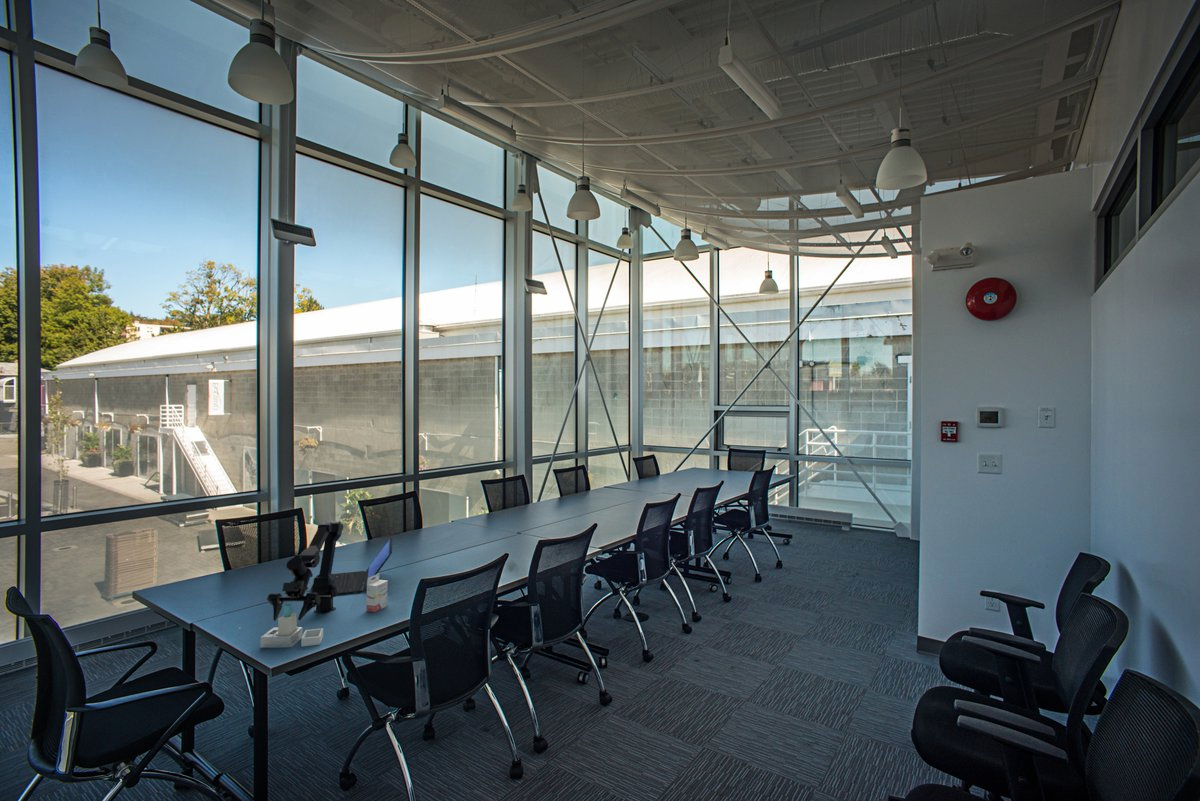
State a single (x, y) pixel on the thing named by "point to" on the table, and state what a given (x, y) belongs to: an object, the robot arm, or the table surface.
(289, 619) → the plug
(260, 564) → the table surface
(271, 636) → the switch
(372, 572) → the laptop
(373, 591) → the ink cartridge box
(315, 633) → the box
